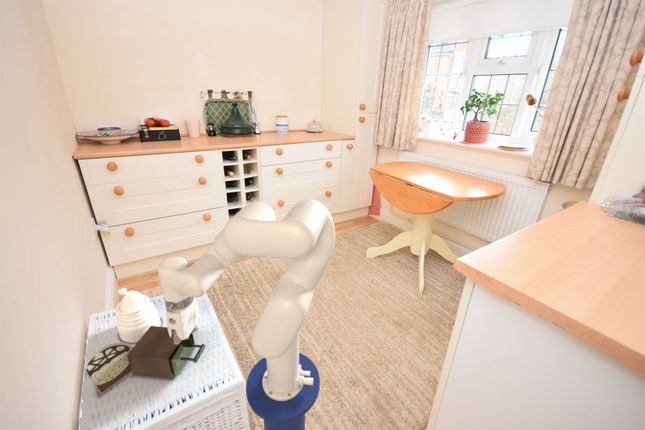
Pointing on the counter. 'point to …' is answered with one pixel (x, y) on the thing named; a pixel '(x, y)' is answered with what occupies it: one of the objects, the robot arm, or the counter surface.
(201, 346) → the drawer
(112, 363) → the mint chocolate cake slice
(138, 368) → the cabinet
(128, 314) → the honey pot
